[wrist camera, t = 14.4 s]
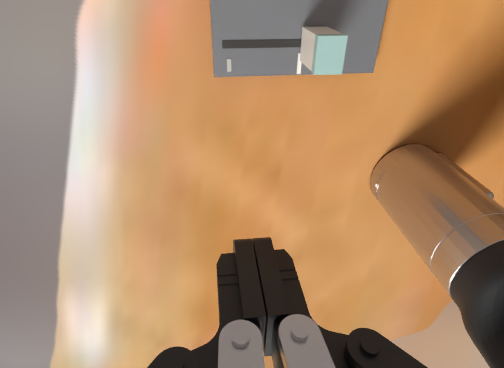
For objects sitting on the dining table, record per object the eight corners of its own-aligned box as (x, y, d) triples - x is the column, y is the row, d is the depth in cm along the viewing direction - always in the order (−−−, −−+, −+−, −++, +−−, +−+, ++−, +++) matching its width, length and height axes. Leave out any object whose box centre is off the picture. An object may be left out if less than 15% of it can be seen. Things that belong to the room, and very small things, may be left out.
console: (396, -85, 29) (406, -88, 27) (366, 68, 36) (373, 73, 35) (205, -91, 27) (205, -94, 26) (213, 72, 34) (214, 77, 33)
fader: (327, 25, 31) (348, 35, 27) (323, 60, 33) (341, 74, 29) (301, 26, 31) (318, 35, 27) (299, 60, 33) (313, 75, 28)
